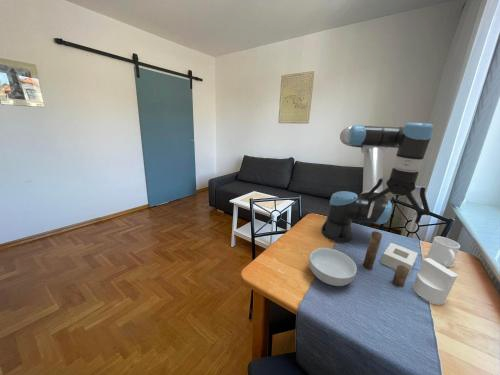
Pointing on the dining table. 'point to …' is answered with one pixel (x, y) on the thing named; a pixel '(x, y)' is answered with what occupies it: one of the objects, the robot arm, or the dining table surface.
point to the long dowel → (372, 250)
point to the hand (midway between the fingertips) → (388, 222)
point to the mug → (443, 251)
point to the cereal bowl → (332, 266)
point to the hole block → (398, 257)
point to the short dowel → (400, 276)
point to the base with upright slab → (434, 281)
